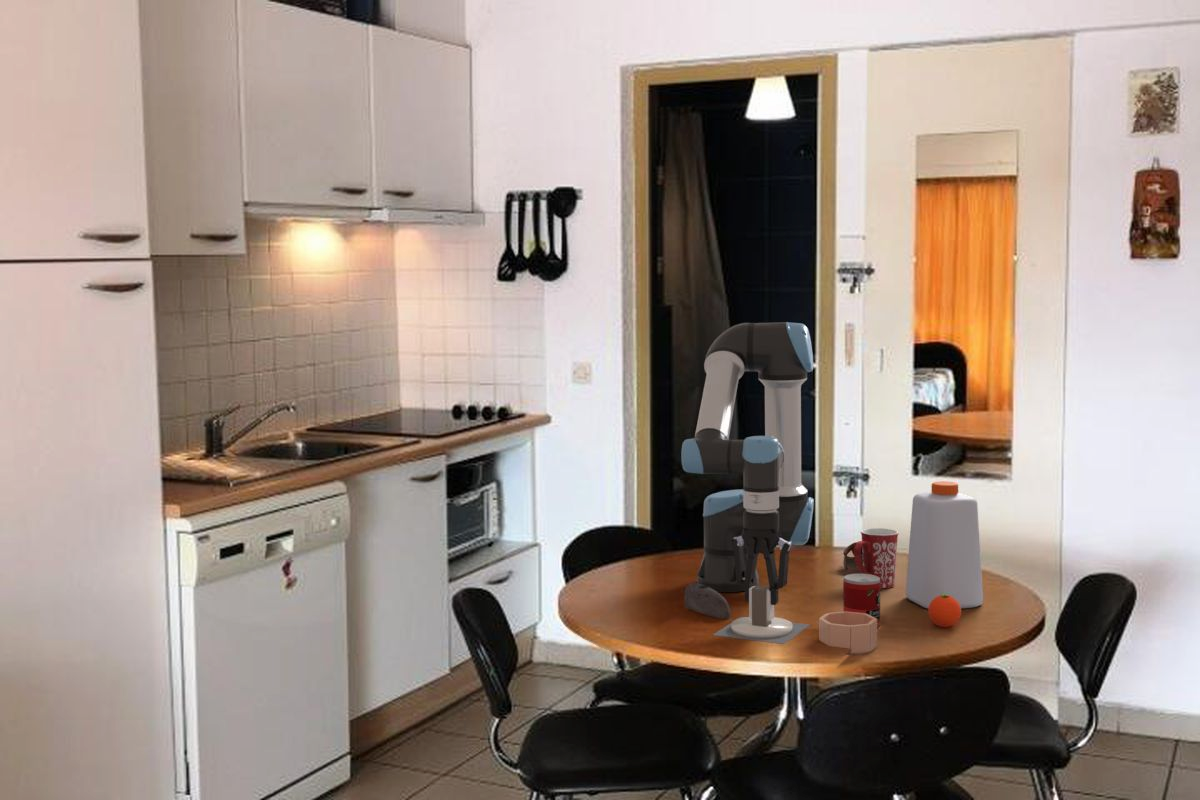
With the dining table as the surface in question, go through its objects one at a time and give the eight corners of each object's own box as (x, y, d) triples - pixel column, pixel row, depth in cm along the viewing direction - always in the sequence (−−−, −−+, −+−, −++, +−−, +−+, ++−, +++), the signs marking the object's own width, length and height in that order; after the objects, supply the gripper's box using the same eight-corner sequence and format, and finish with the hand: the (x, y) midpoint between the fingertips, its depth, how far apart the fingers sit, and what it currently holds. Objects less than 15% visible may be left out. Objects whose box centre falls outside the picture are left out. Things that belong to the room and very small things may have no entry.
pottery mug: (890, 574, 349) (878, 548, 346) (856, 590, 350) (844, 565, 347) (874, 552, 361) (863, 528, 358) (842, 568, 361) (830, 544, 358)
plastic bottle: (928, 612, 310) (929, 490, 307) (899, 596, 324) (900, 479, 321) (989, 607, 313) (991, 486, 310) (957, 592, 328) (959, 476, 325)
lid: (721, 633, 290) (721, 591, 289) (744, 619, 302) (744, 578, 301) (780, 640, 284) (779, 597, 283) (801, 625, 296) (800, 583, 295)
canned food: (872, 633, 294) (872, 583, 293) (837, 628, 298) (837, 579, 297) (885, 625, 300) (885, 575, 299) (851, 620, 305) (851, 571, 303)
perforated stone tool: (738, 624, 303) (737, 594, 302) (718, 628, 301) (717, 597, 300) (701, 609, 316) (701, 580, 316) (681, 613, 314) (681, 583, 313)
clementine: (924, 621, 303) (924, 589, 302) (956, 620, 303) (956, 589, 302) (931, 631, 295) (932, 598, 294) (964, 630, 295) (964, 598, 294)
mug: (879, 579, 342) (879, 526, 340) (906, 586, 334) (906, 531, 333) (841, 586, 335) (841, 532, 334) (868, 594, 327) (868, 538, 326)
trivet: (712, 641, 290) (712, 634, 290) (741, 623, 304) (741, 616, 304) (784, 650, 282) (784, 643, 282) (810, 631, 296) (810, 624, 296)
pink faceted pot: (813, 650, 282) (813, 622, 281) (830, 637, 292) (830, 609, 291) (866, 657, 277) (866, 628, 276) (881, 643, 287) (881, 615, 286)
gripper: (718, 510, 291) (719, 618, 293) (791, 515, 283) (791, 626, 286) (732, 504, 297) (732, 609, 300) (803, 509, 290) (804, 618, 292)
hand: (761, 617), depth 293 cm, fingers closed on lid, 3 cm apart
